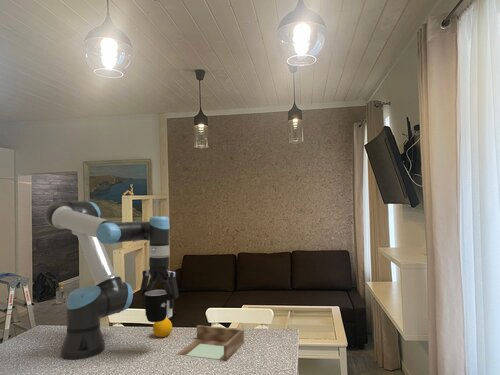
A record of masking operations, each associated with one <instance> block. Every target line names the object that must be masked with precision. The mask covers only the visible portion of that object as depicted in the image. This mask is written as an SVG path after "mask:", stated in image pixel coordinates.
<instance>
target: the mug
mask: <svg viewBox="0 0 500 375" xmlns="http://www.w3.org/2000/svg"><path fill="white" fill-rule="evenodd" d="M167 300H168V296H167V293H166V291H165V289H154V290H153V289H152V291H149V292H146V293H145V306H144V310H145V311H146V320H147V321H148V322H150V323H155V322H160V321H163V320H165V318H167Z"/></svg>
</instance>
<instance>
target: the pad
mask: <svg viewBox="0 0 500 375" xmlns="http://www.w3.org/2000/svg"><path fill="white" fill-rule="evenodd" d="M223 355H224V346H216V345H207V344H199V345H198V346H197V347H195V348H194V349H193V350H192V351H190V352H189V353H188V354H187V355H186V357H192V356H193V358H200V357H201V358H203V359H208V358H209V359H208V360H210V359H211V360H216V359H217V360H218V361H220V360H219V359H220V358H221V357H222V356H223Z"/></svg>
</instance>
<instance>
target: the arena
mask: <svg viewBox="0 0 500 375" xmlns="http://www.w3.org/2000/svg"><path fill="white" fill-rule="evenodd" d="M199 344H207V345H216V346H224V355H223V356H222V357H221V358H220V359H219V360H218V361H223V362H224V361H225V362H228V360H230V359H231V358H232V357H233V355H234V354H235V353H236V352H238V351H239V349H240V348H241V347H242V346H243V345H244V344H245V329H243V328H232V327H221V326H210V325H196V339H195V340H193V341H192V342H191V343H189V344H188V345H187V346H185V347H184V348H183V349H181V350H180V351H178V352H177V353H176V355H177V356H186V355H187V354H188V353H189V352H190V351H192V350H193V349H194V348H195V347H197V346H198V345H199ZM186 357H187V356H186ZM191 357H193V356H191ZM193 358H194V357H193ZM199 358H201V357H199ZM207 359H208V360H210V359H209V358H207ZM216 360H217V359H215V361H216Z"/></svg>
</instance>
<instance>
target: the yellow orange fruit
mask: <svg viewBox="0 0 500 375" xmlns="http://www.w3.org/2000/svg"><path fill="white" fill-rule="evenodd" d="M172 329H173V323H172V322H171V320H170V318H167V317H166V318H165V320H163V321H160V322H153V325H152V332H153V334H154V335H155V336H156V337H158V338H164V337H167V336H169V335H170V334H171V332H172V331H173V330H172Z"/></svg>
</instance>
